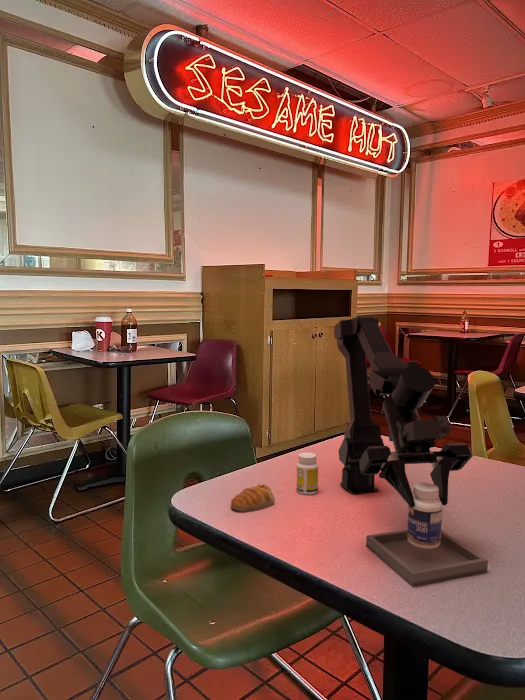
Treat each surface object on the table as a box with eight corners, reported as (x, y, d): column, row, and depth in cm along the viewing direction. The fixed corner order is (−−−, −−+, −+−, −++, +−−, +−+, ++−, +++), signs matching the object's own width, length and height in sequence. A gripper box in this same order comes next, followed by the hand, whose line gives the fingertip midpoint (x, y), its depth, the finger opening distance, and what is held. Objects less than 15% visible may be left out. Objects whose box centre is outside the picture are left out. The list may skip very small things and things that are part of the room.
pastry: (244, 517, 109) (244, 498, 109) (222, 508, 114) (222, 490, 114) (277, 504, 116) (277, 487, 115) (255, 496, 121) (255, 479, 120)
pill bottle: (400, 540, 93) (402, 484, 92) (421, 532, 96) (424, 478, 95) (425, 553, 89) (428, 495, 87) (447, 544, 91) (450, 488, 90)
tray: (433, 535, 101) (433, 525, 101) (487, 572, 88) (487, 560, 88) (366, 546, 97) (366, 535, 96) (412, 586, 83) (413, 574, 83)
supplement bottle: (319, 489, 125) (320, 453, 124) (315, 496, 120) (315, 459, 119) (299, 486, 126) (300, 450, 125) (293, 493, 122) (294, 456, 121)
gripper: (367, 400, 92) (389, 487, 82) (470, 397, 95) (503, 481, 85) (350, 433, 101) (369, 516, 91) (445, 430, 104) (473, 509, 94)
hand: (429, 505), depth 90 cm, fingers closed on pill bottle, 5 cm apart
